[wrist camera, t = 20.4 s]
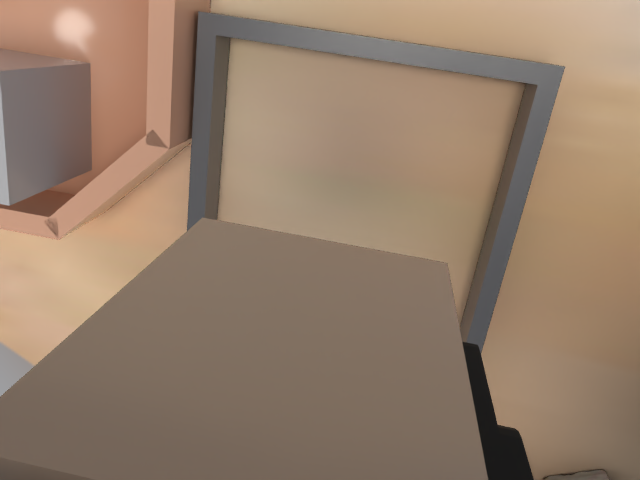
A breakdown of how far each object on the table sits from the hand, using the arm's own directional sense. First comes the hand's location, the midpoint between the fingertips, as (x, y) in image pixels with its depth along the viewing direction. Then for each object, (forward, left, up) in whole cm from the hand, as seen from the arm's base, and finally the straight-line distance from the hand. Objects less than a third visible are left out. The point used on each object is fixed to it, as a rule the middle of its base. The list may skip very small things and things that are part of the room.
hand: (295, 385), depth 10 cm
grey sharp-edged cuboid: (+15, -1, -16) cm, 22 cm away
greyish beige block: (0, 0, -1) cm, 1 cm away
